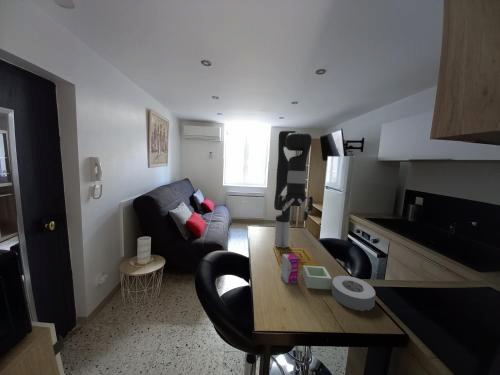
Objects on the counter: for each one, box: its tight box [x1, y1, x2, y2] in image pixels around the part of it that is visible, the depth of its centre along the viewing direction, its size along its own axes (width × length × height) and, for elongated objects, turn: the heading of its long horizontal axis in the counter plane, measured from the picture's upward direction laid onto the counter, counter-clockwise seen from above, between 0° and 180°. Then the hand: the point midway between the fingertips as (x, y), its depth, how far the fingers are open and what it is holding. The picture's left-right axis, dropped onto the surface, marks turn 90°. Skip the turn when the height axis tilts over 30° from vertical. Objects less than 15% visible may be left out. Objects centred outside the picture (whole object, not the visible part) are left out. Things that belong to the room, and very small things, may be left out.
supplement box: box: [280, 253, 300, 285], centre depth 88 cm, size 6×6×12 cm
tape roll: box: [331, 275, 377, 312], centre depth 77 cm, size 15×15×5 cm
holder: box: [302, 265, 333, 291], centre depth 87 cm, size 10×10×5 cm
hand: (294, 219), depth 82 cm, fingers open, 8 cm apart
